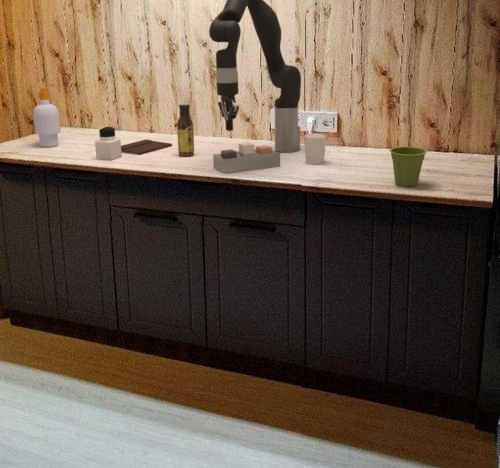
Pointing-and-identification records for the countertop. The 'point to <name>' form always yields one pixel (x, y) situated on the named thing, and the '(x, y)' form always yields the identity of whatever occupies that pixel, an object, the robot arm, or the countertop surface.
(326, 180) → the countertop surface
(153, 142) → the notebook
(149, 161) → the countertop surface
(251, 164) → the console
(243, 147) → the off-white cube
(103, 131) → the medicine bottle
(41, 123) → the soap bottle
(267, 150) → the terracotta key
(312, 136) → the grey cup
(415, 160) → the plant pot
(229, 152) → the charcoal key
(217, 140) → the countertop surface
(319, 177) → the countertop surface
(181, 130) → the sauce bottle
